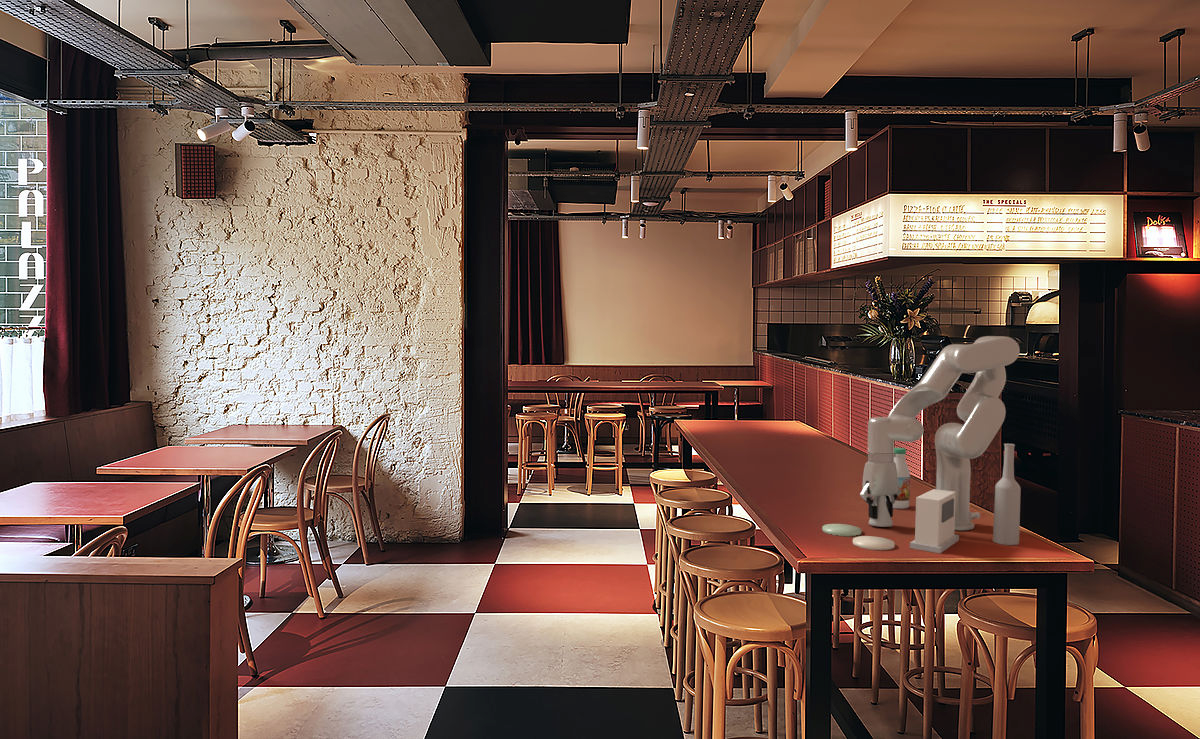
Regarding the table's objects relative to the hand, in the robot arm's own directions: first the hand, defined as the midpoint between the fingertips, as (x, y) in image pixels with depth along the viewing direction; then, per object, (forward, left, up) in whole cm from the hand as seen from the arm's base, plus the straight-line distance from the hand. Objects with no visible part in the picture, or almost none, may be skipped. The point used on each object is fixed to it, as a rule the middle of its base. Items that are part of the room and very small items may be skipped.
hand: (880, 516), depth 244 cm
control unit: (0, +22, -3) cm, 22 cm away
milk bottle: (-24, -20, -3) cm, 32 cm away
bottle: (-21, +27, -3) cm, 34 cm away
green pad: (+16, +2, -3) cm, 16 cm away
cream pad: (+17, +17, -3) cm, 24 cm away
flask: (0, 0, -3) cm, 3 cm away
